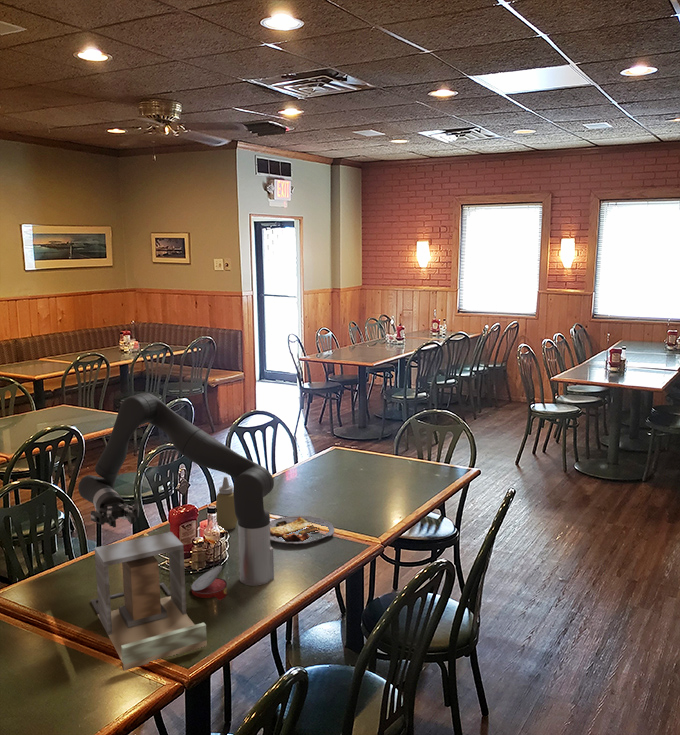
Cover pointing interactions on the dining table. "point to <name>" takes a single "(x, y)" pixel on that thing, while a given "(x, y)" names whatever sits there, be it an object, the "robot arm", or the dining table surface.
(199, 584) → the canned food
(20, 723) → the dining table surface
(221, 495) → the squeeze bottle
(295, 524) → the food plate
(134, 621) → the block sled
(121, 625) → the tunnel
